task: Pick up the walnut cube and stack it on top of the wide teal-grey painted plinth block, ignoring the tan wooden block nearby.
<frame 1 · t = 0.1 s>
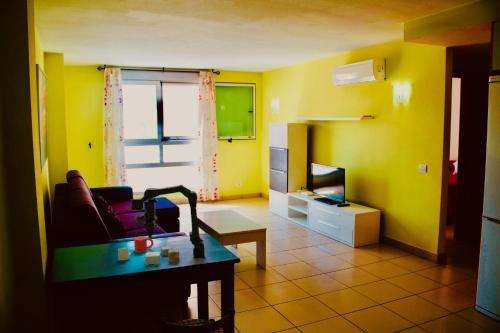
hand: (151, 235, 230), 15 cm above the table, fingers open, 9 cm apart
mug: (144, 249, 251), on the table
tan wooden block: (166, 253, 242), on the table
walnut cube: (174, 260, 230), on the table
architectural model: (123, 260, 232), on the table
plinth block: (153, 262, 227), on the table
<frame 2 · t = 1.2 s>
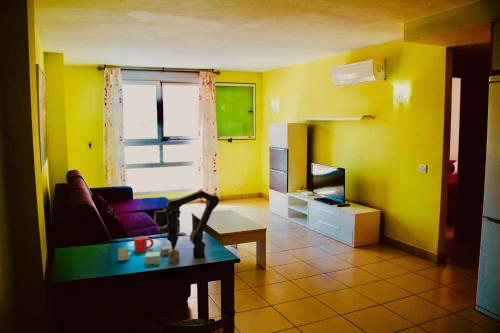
hand: (173, 246, 229), 8 cm above the table, fingers open, 9 cm apart
nothing on the table moved.
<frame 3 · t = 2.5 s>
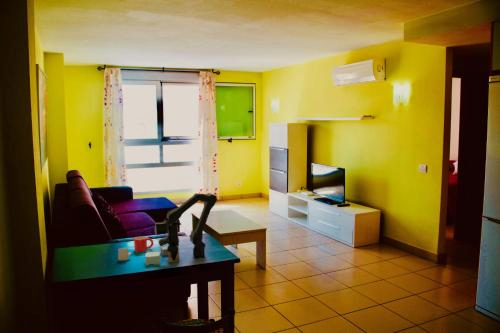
hand: (174, 258, 230), 1 cm above the table, fingers closed on walnut cube, 6 cm apart
walnut cube: (174, 260, 230), on the table, touching gripper
everything else where it was.
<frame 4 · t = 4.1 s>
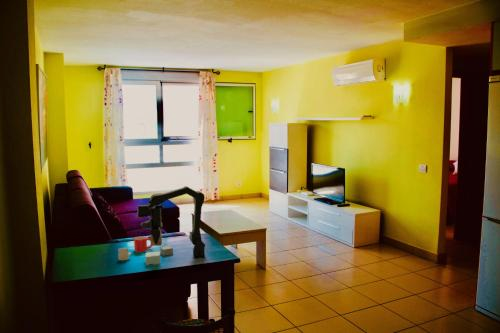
hand: (156, 242, 226), 12 cm above the table, fingers closed on walnut cube, 6 cm apart
walnut cube: (156, 244, 226), point 11 cm above the table, touching gripper
everything else where it was.
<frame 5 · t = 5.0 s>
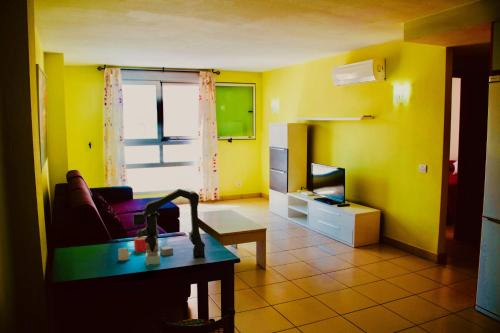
hand: (152, 250, 226), 7 cm above the table, fingers closed on walnut cube, 6 cm apart
walnut cube: (152, 251, 227), point 6 cm above the table, touching gripper
everything else where it was.
when the fingers open (7 cm above the table, at t = 5.9 s): walnut cube drops 1 cm, resting on plinth block.
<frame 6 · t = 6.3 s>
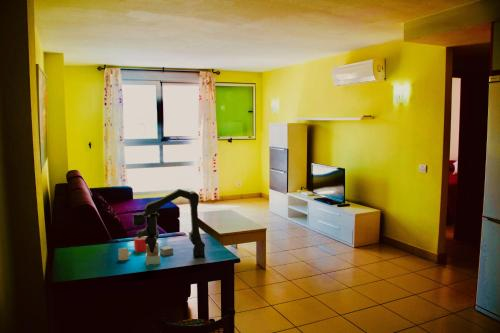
hand: (152, 250, 226), 7 cm above the table, fingers open, 9 cm apart
walnut cube: (152, 254, 227), point 5 cm above the table, touching plinth block
plinth block: (153, 262, 227), on the table, touching walnut cube
everything else where it was.
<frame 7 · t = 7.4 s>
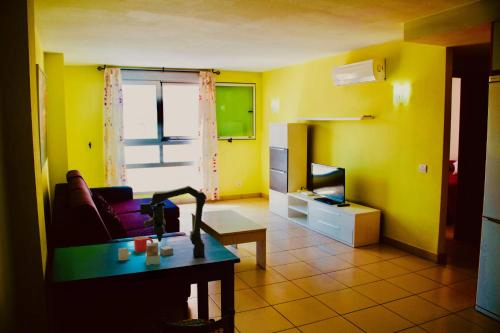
hand: (160, 239, 229), 12 cm above the table, fingers open, 9 cm apart
nothing on the table moved.
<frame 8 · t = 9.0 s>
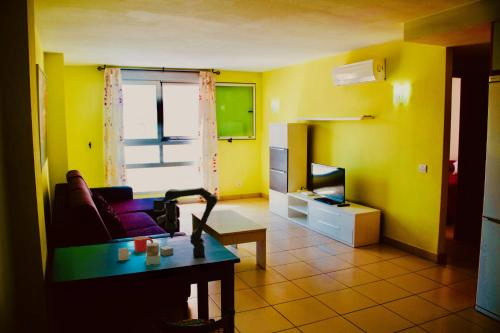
hand: (172, 236, 234), 13 cm above the table, fingers open, 9 cm apart
walnut cube: (152, 254, 227), point 5 cm above the table
plinth block: (153, 262, 227), on the table
everything else where it was.
at the end: walnut cube 0.1 cm off-centre on the plinth block, point 5.0 cm above the plinth block's base; walnut cube tilted 1°; the gripper is holding nothing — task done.
